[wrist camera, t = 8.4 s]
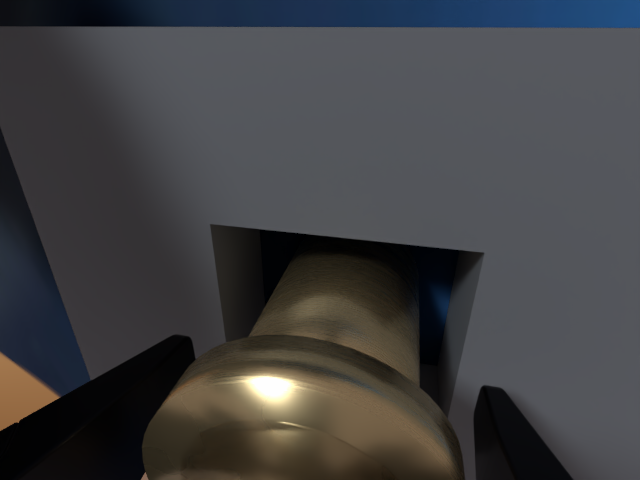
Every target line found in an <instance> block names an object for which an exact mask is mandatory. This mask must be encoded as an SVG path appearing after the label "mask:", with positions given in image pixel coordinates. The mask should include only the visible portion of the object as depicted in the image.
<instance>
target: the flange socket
mask: <svg viewBox="0 0 640 480" xmlns="http://www.w3.org/2000/svg"><path fill="white" fill-rule="evenodd" d="M0 128H1V131H2V133H3V136H4V139H5V142H6V144H7V147H8V150H9V153H10V156H11V158H12V161H13V164H14V167H15V170H16V172H17V175H18V178H19V181H20V183H21V186H22V189H23V192H24V195H25V197H26V200H27V203H28V206H29V209H30V211H31V214H32V217H33V220H34V222H35V225H36V228H37V231H38V234H39V236H40V239H41V242H42V245H43V248H44V250H45V253H46V256H47V259H48V261H49V264H50V267H51V270H52V273H53V275H54V278H55V281H56V284H57V287H58V289H59V292H60V295H61V298H62V300H63V303H64V306H65V309H66V312H67V314H68V317H69V320H70V323H71V326H72V328H73V331H74V334H75V337H76V339H77V342H78V345H79V348H80V351H81V353H82V356H83V359H84V362H85V365H86V367H87V370H88V373H89V376H90V378H91V380H93V379H95V378H96V377H98V376H100V375H102V374H103V373H105V372H107V371H109V370H111V369H112V368H114V367H116V366H118V365H120V364H121V363H123V362H125V361H127V360H128V359H130V358H132V357H134V356H136V355H137V354H139V353H141V352H143V351H145V350H146V349H148V348H150V347H152V346H153V345H155V344H157V343H159V342H161V341H162V340H164V339H166V338H168V337H170V336H172V335H174V334H179V335H185V336H189V337H190V338H191V339H192V342H193V347H194V352H195V358H196V359H197V358H198V357H199V356H201V355H202V354H204V353H206V352H207V351H209V350H210V349H212V348H214V347H216V346H219V345H221V344H224V343H226V342H229V341H233V340H237V339H240V338H244V337H248V336H249V334H250V333H251V331H252V329H253V327H254V326H255V324H256V322H257V320H258V318H259V317H260V315H261V313H262V311H263V309H264V308H265V296H264V282H263V268H262V254H261V241H260V229H263V230H273V231H282V232H292V233H301V234H311V235H320V236H330V237H339V238H349V239H359V240H368V241H378V242H387V243H397V244H406V245H416V246H425V247H435V248H445V249H454V250H459V254H458V259H457V265H456V270H455V275H454V281H453V286H452V291H451V296H450V302H449V307H448V312H447V318H446V323H445V328H444V333H443V339H442V344H441V349H440V354H439V360H438V365H437V366H435V365H429V364H423V363H420V388H421V389H422V390H423V391H424V392H425V393H427V394H428V395H429V396H430V397H431V399H432V400H433V401H434V402H435V403H436V404H437V405H438V406H439V408H440V409H441V410H442V411H443V413H444V414H445V416H446V417H447V419H448V420H449V422H450V423H451V425H452V427H453V429H454V431H455V433H456V435H457V438H458V440H459V443H460V447H461V451H462V455H463V464H464V473H465V480H476V468H475V447H474V426H473V417H474V410H475V406H476V402H477V398H478V395H479V391H480V388H481V387H482V386H483V385H489V386H495V387H500V388H502V389H504V390H505V391H506V393H507V394H508V395H509V397H510V398H511V399H512V400H513V402H514V403H515V404H516V406H517V407H518V408H519V409H520V411H521V412H522V413H523V415H524V416H525V417H526V419H527V420H528V421H529V422H530V424H531V425H532V426H533V428H534V429H535V430H536V431H537V433H538V434H539V435H540V437H541V438H542V439H543V440H544V442H545V443H546V444H547V446H548V447H549V448H550V449H551V451H552V452H553V453H554V455H555V456H556V457H557V458H558V460H559V461H560V462H561V464H562V465H563V466H564V467H565V469H566V470H567V471H568V473H569V474H570V475H571V477H572V478H573V479H574V480H640V28H406V27H17V26H0Z"/></svg>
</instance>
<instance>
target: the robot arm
mask: <svg viewBox="0 0 640 480" xmlns="http://www.w3.org/2000/svg"><path fill="white" fill-rule="evenodd" d="M195 360H196V358H195V352H194V347H193V342H192V339H191V338H190V337H189V336H185V335H179V334H174V335H172V336H170V337H168V338H166V339H164V340H162V341H161V342H159V343H157V344H155V345H153V346H152V347H150V348H148V349H146V350H145V351H143V352H141V353H139V354H137V355H136V356H134V357H132V358H130V359H128V360H127V361H125V362H123V363H121V364H120V365H118V366H116V367H114V368H112V369H111V370H109V371H107V372H105V373H103V374H102V375H100V376H98V377H96V378H95V379H93V380H91V381H89V382H87V383H86V384H84V385H82V386H80V387H78V388H77V389H75V390H73V391H71V392H70V393H68V394H66V395H64V396H62V397H61V398H59V399H57V400H55V401H54V402H52V403H50V404H48V405H46V406H45V407H43V408H41V409H39V410H37V411H36V412H34V413H32V414H30V415H28V416H27V417H25V418H23V419H21V420H20V421H19V423H14V424H12V425H10V426H9V427H7V428H5V429H3V430H1V431H0V480H141V478H142V477H143V475H144V473H145V468H144V463H143V457H142V444H143V439H144V434H145V432H146V429H147V427H148V425H149V423H150V421H151V420H152V418H153V417H154V415H155V414H156V413H157V411H158V410H159V408H160V407H161V405H162V404H163V402H164V401H165V399H166V398H167V397H168V395H169V394H170V392H171V391H172V389H173V388H174V386H175V385H176V384H177V382H178V381H179V379H180V378H181V376H182V375H183V374H184V372H185V371H186V369H187V368H188V367H189V365H191V364H192V363H193V362H194V361H195ZM473 426H474V447H475V468H476V480H574V479H573V478H572V477H571V475H570V474H569V473H568V471H567V470H566V469H565V467H564V466H563V465H562V464H561V462H560V461H559V460H558V458H557V457H556V456H555V455H554V453H553V452H552V451H551V449H550V448H549V447H548V446H547V444H546V443H545V442H544V440H543V439H542V438H541V437H540V435H539V434H538V433H537V431H536V430H535V429H534V428H533V426H532V425H531V424H530V422H529V421H528V420H527V419H526V417H525V416H524V415H523V413H522V412H521V411H520V409H519V408H518V407H517V406H516V404H515V403H514V402H513V400H512V399H511V398H510V397H509V395H508V394H507V393H506V391H505V390H504V389H502V388H500V387H495V386H489V385H483V386H482V387H481V388H480V391H479V395H478V398H477V402H476V406H475V410H474V417H473Z"/></svg>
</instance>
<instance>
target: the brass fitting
mask: <svg viewBox="0 0 640 480" xmlns="http://www.w3.org/2000/svg"><path fill="white" fill-rule="evenodd" d="M142 457H143V463H144V468H145V472H146V474H147V477H148V479H149V480H465V473H464V464H463V455H462V451H461V447H460V443H459V440H458V438H457V435H456V433H455V431H454V429H453V427H452V425H451V423H450V422H449V420H448V419H447V417H446V416H445V414H444V413H443V411H442V410H441V409H440V408H439V406H438V405H437V404H436V403H435V402H434V401H433V400H432V399H431V397H430V396H429V395H428V394H427V393H425V392H424V391H423V390H422V389H421V388H420V353H419V274H418V269H417V265H416V262H415V260H414V257H413V255H412V254H411V252H410V250H409V249H408V248H407V247H406V245H405V244H397V243H387V242H378V241H368V240H359V239H349V238H339V237H330V236H320V235H311V234H309V235H308V236H307V237H306V238H305V239H304V240H303V241H302V242H301V244H300V245H299V247H298V249H297V251H296V252H295V254H294V256H293V258H292V259H291V261H290V263H289V265H288V267H287V268H286V270H285V272H284V274H283V276H282V277H281V279H280V281H279V283H278V284H277V286H276V288H275V290H274V292H273V293H272V295H271V297H270V299H269V301H268V302H267V304H266V306H265V308H264V309H263V311H262V313H261V315H260V317H259V318H258V320H257V322H256V324H255V326H254V327H253V329H252V331H251V333H250V334H249V336H248V337H244V338H240V339H237V340H233V341H229V342H226V343H224V344H221V345H219V346H216V347H214V348H212V349H210V350H209V351H207V352H206V353H204V354H202V355H201V356H199V357H198V358H197V359H196V360H195V361H194V362H193V363H192V364H191V365H189V367H188V368H187V369H186V371H185V372H184V374H183V375H182V376H181V378H180V379H179V381H178V382H177V384H176V385H175V386H174V388H173V389H172V391H171V392H170V394H169V395H168V397H167V398H166V399H165V401H164V402H163V404H162V405H161V407H160V408H159V410H158V411H157V413H156V414H155V415H154V417H153V418H152V420H151V421H150V423H149V425H148V427H147V429H146V432H145V434H144V439H143V444H142Z"/></svg>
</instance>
